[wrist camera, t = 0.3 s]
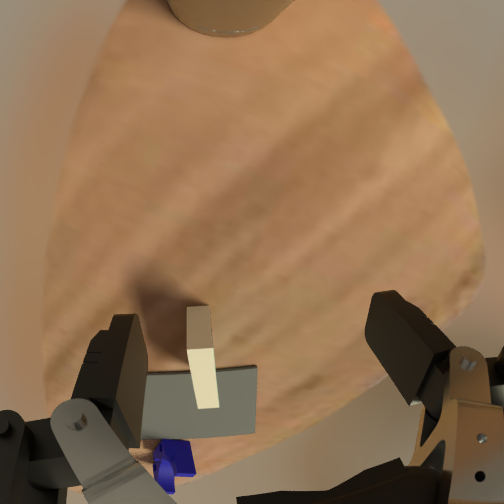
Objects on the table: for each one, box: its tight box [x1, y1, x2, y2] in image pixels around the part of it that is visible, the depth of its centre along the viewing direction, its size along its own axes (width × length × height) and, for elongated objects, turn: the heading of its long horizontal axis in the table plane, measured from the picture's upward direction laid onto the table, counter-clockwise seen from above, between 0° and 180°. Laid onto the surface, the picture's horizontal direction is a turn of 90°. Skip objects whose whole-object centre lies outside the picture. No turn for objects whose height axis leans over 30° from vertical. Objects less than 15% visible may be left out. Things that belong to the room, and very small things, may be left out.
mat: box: [141, 366, 257, 439], centre depth 38 cm, size 16×18×1 cm
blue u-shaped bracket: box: [153, 439, 196, 494], centre depth 41 cm, size 12×4×6 cm, turn 151°
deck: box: [187, 305, 219, 409], centre depth 30 cm, size 9×2×6 cm, turn 179°
